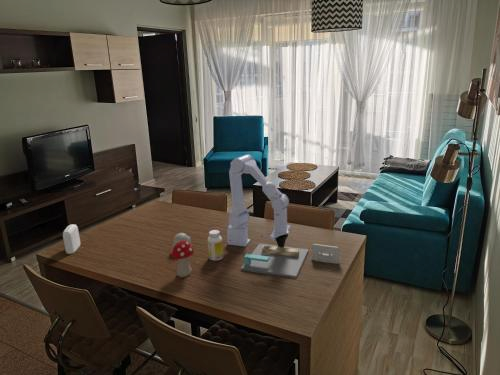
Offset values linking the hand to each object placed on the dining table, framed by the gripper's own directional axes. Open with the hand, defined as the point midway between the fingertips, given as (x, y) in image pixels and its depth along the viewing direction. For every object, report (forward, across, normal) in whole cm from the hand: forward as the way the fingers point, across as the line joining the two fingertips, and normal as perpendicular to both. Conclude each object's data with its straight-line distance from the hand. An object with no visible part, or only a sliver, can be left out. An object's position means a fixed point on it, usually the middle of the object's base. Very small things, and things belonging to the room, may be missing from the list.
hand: (280, 248), depth 179 cm
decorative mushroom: (+2, -38, +24) cm, 45 cm away
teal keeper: (+2, -17, +2) cm, 17 cm away
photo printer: (+2, -50, +89) cm, 102 cm away
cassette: (+2, +3, -21) cm, 21 cm away
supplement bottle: (+2, -20, +23) cm, 30 cm away
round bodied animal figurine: (+2, -21, +42) cm, 47 cm away
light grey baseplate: (+2, -7, -2) cm, 8 cm away
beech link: (+1, -2, -1) cm, 3 cm away
